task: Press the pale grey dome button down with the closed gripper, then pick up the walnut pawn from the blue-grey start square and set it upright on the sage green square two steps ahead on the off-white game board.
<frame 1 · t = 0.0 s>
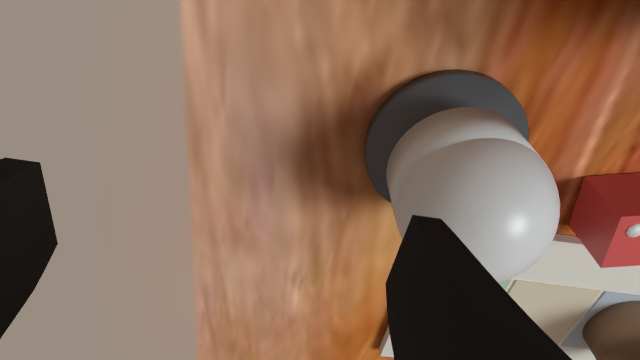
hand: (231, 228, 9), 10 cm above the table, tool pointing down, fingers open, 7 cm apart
dome base: (442, 145, 19), on the table
dome: (472, 205, 16), point 4 cm above the table, slide at 0.0 cm
game board: (533, 305, 25), on the table
red die: (607, 199, 21), on the table
pawn: (621, 325, 25), point 1 cm above the table, touching game board
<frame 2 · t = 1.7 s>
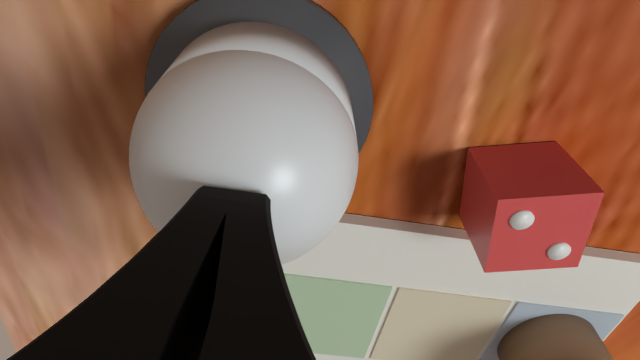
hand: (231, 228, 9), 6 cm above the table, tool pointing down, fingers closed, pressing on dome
dome base: (262, 102, 14), on the table
dome: (248, 158, 11), point 3 cm above the table, slide at -0.9 cm, touching gripper
game board: (433, 319, 20), on the table
red die: (504, 180, 16), on the table
pawn: (545, 344, 20), point 1 cm above the table, touching game board
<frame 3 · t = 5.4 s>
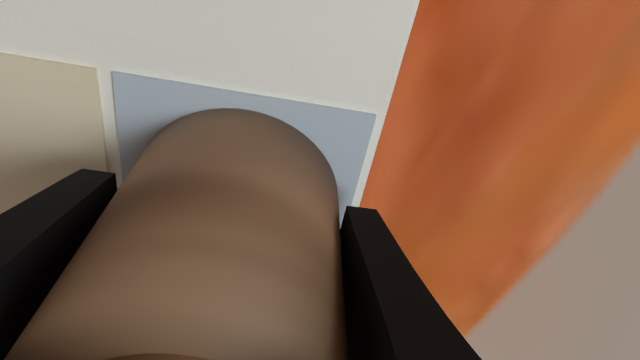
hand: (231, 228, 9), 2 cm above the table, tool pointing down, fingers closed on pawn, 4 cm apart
game board: (3, 147, 10), on the table
pawn: (238, 199, 10), point 1 cm above the table, touching game board, gripper
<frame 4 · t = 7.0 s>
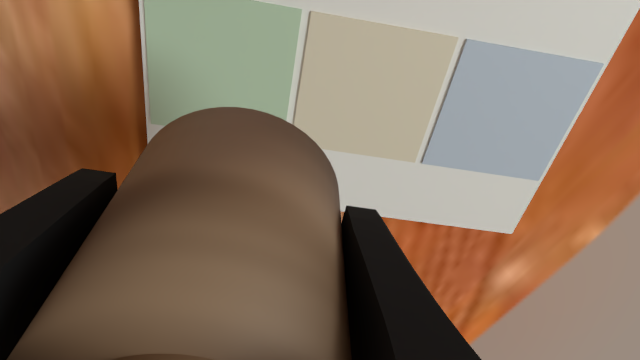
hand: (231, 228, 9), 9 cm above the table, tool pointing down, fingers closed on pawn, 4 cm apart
game board: (366, 87, 16), on the table
pawn: (239, 198, 9), point 8 cm above the table, touching gripper
when the fingers open (3 cm above the table, at t = 8.6 s): pawn drops 2 cm, resting on game board.
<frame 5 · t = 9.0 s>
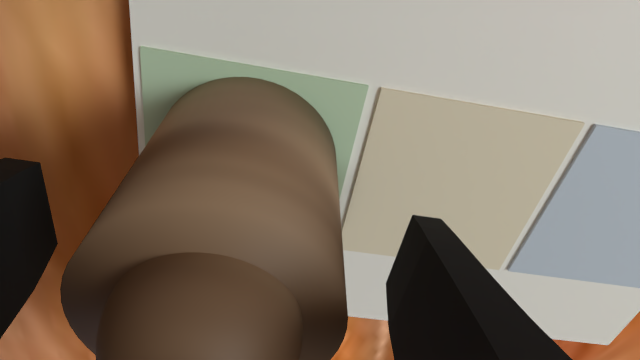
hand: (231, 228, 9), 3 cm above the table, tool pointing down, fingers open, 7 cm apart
game board: (442, 177, 12), on the table
pawn: (248, 161, 11), point 1 cm above the table, touching game board
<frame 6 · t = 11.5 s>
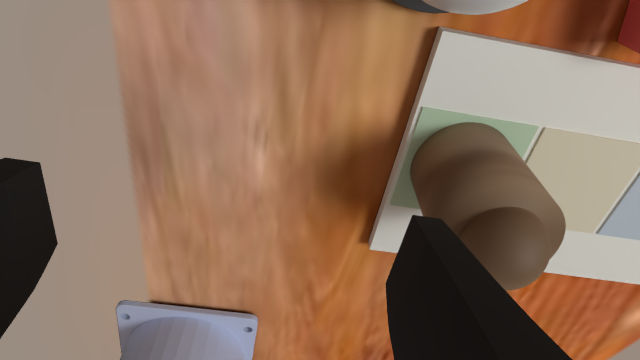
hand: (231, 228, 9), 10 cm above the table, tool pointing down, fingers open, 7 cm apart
game board: (563, 176, 20), on the table
pawn: (460, 167, 19), point 1 cm above the table, touching game board
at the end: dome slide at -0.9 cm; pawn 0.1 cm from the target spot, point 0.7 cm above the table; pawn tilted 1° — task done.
